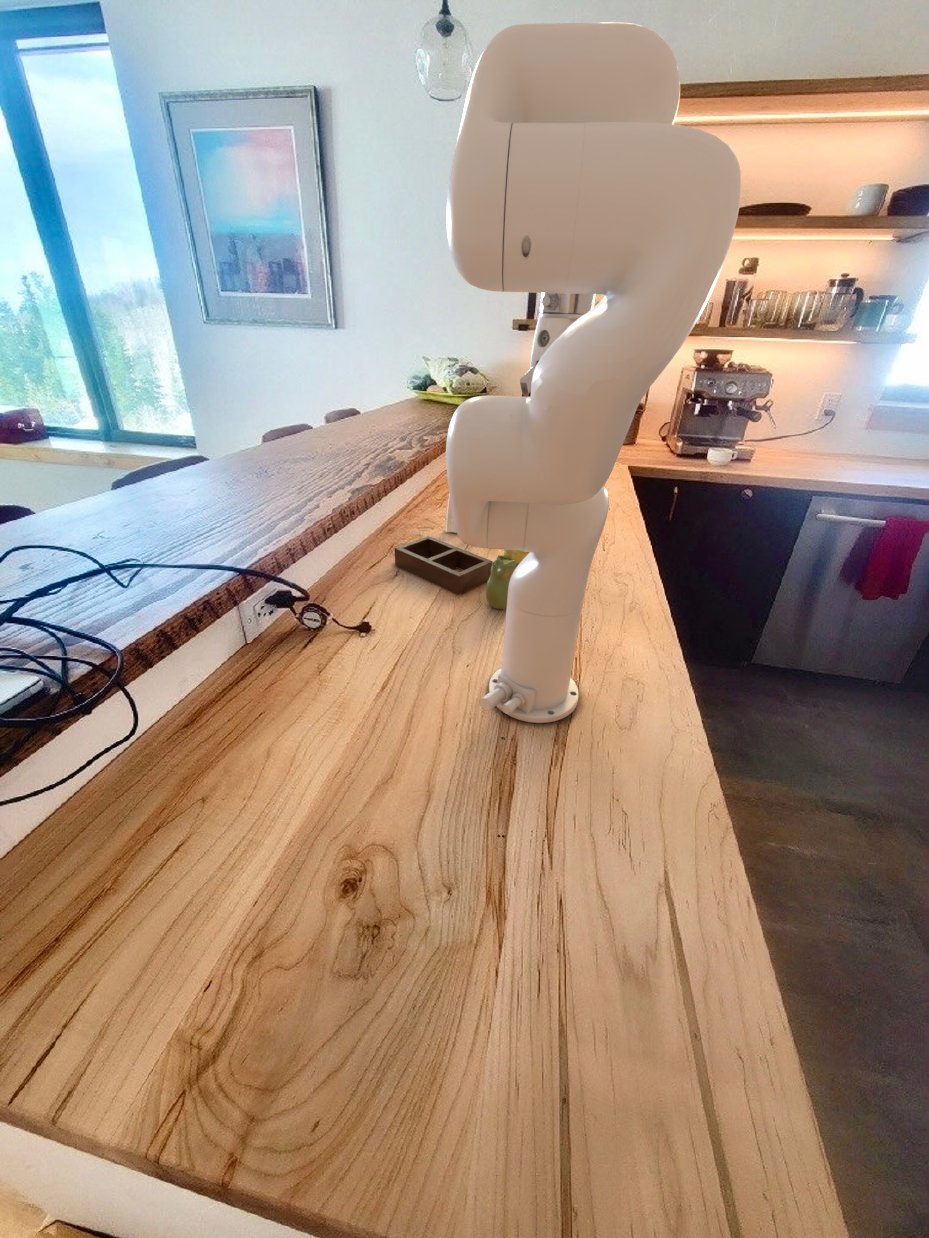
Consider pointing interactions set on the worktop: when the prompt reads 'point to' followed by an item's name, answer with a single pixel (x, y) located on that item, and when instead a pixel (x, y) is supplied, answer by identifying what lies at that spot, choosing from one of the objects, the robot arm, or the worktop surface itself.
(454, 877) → the worktop surface
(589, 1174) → the worktop surface
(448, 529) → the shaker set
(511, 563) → the pear
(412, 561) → the divided tray
